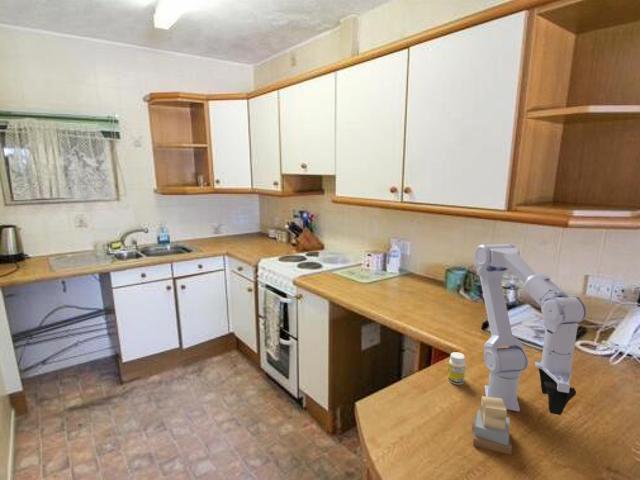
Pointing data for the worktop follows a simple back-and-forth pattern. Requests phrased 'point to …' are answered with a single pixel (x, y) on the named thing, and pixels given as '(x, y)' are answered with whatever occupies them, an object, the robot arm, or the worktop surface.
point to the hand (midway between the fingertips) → (550, 403)
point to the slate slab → (492, 431)
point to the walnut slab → (489, 442)
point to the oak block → (493, 412)
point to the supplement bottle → (456, 368)
